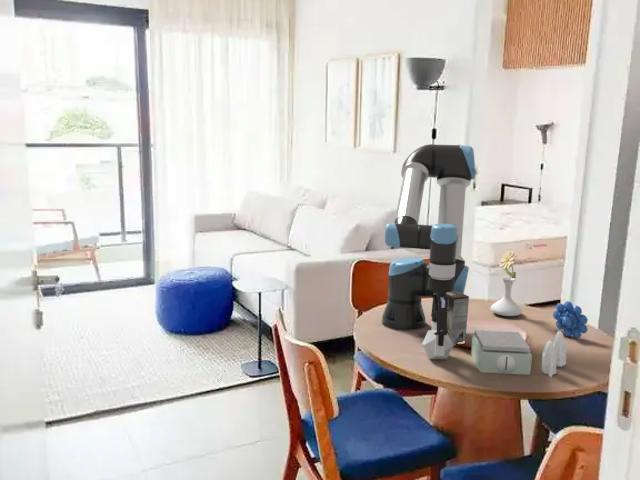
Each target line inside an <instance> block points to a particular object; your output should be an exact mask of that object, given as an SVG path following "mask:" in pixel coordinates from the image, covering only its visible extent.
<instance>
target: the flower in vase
mask: <svg viewBox="0 0 640 480" xmlns="http://www.w3.org/2000/svg"><path fill="white" fill-rule="evenodd" d="M517 257H518V256H517V254H516V252H515V251H514V250H508V251H506V252H505V253H503V254H502V256H501V259H500V260H499V268H501V271H502V270H503V271H504V272H505V273H506V274H507V275H509V276H502V277H501V280H502V282H503V284H504V293H503V296H502V298H500V299H499V300H497V301H496V302H494V303H493V304H492V305H491V306H490V309H489V310H490V311H491V312H492V313H494V314H495V315H499V316H503V317H516V316H519V315H522V313H523V309H522V307H521V306H520V305H519V304H518V303H516V302H515V301H514V300H513V299H512V296H511V295H512V294H511V293H512V286H513V285H514V283H515V281H516V280H517V277H516V275H517V274H516V271H514V267H513V265H514V264H515V263H516V260H517ZM510 268H511V271H509V269H510Z"/></svg>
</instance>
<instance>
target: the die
mask: <svg viewBox="0 0 640 480" xmlns="http://www.w3.org/2000/svg"><path fill="white" fill-rule="evenodd" d="M441 331H443V330H441ZM435 332H437V330H431V329H430V330H429V329H428V330H427V332H426V334H425V337H424V338H423V341H422V343H421V346H422V349H423V350H424V352H425V355H426V356H427V357H428V359H429V360H447V359H448V357H449V356H450V353H451V351H452V349H453V348H454V346H453V343H452V341H451V339H450V337H449V335H448V334H447V335H446V336H445V352H444V356H435V339H436V335H434V333H435Z"/></svg>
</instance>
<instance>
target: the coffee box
mask: <svg viewBox="0 0 640 480" xmlns="http://www.w3.org/2000/svg"><path fill="white" fill-rule="evenodd" d="M446 295H447V297H448V306H447V334H448V335H449V337H450V339H451V341H452V343H453V347H454V346H457V345H456V344H457V343H458V342H463V341H465V342H466V341H467V340H466V339H467V337H466V336H467V326H468V313H469V303H470V302H469V301H470V300H469V299H470V296H469V295H466V293H464V294H462V293H460V292H458V291H456V290H453V291H451V292H447V293H446Z"/></svg>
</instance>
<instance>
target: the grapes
mask: <svg viewBox="0 0 640 480" xmlns="http://www.w3.org/2000/svg"><path fill="white" fill-rule="evenodd" d="M555 307H556V310H555V311H553V314H552V315H553V318H554V319H555V320H556V322H555V325H556V328H557V329H559V331H563V332H562V333H563V335H565V337H568V338H569V337H572V336H573V337H574V338H575V339H580V338H581V337H582V334H586V333H588V327H587V325H586V324H587V323H588V320H589V319H588V317H587V316H586V315H585V314H582V313H583V311H582V308H581V307H580V306H579V305H573V303H572V302H570V301H568V300H567V301H564V303H563V304H562V303H561V302H560V303H559V302H558V303H557V304H556V305H555Z"/></svg>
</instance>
